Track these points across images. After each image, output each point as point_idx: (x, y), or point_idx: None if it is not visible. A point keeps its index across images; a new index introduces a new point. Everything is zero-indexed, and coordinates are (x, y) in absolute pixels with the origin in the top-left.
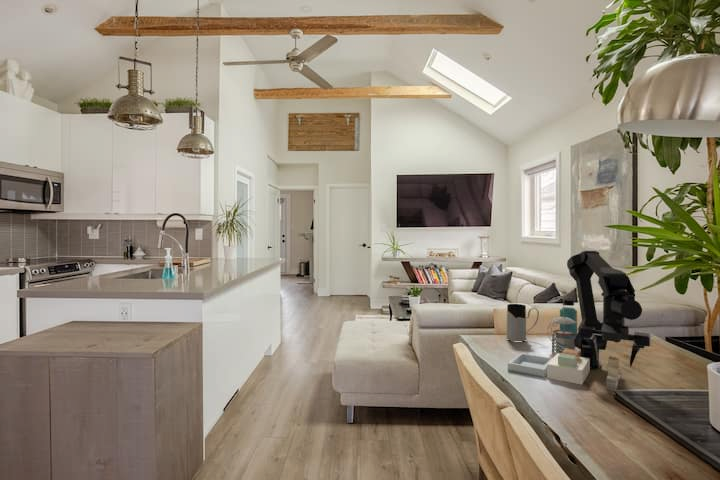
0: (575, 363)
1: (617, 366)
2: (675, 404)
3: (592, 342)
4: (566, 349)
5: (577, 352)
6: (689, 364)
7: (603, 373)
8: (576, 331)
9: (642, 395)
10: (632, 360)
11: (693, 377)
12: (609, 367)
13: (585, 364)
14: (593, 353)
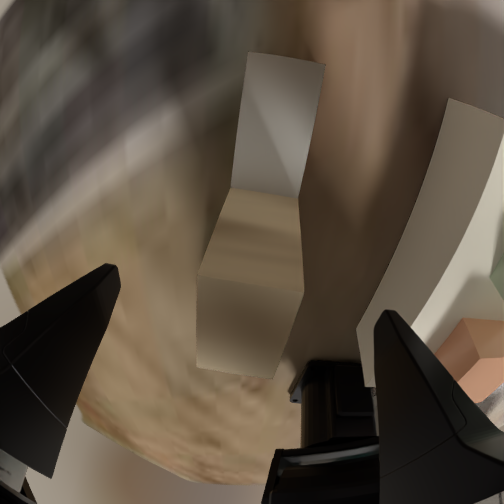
0: (500, 264)
1: (213, 232)
2: (11, 43)
3: (502, 453)
4: (486, 393)
5: (462, 380)
6: (93, 413)
7: (295, 329)
8: None
9: (111, 60)
10: (70, 291)
11: None
12: (287, 230)
13: (443, 278)
14: (432, 354)
